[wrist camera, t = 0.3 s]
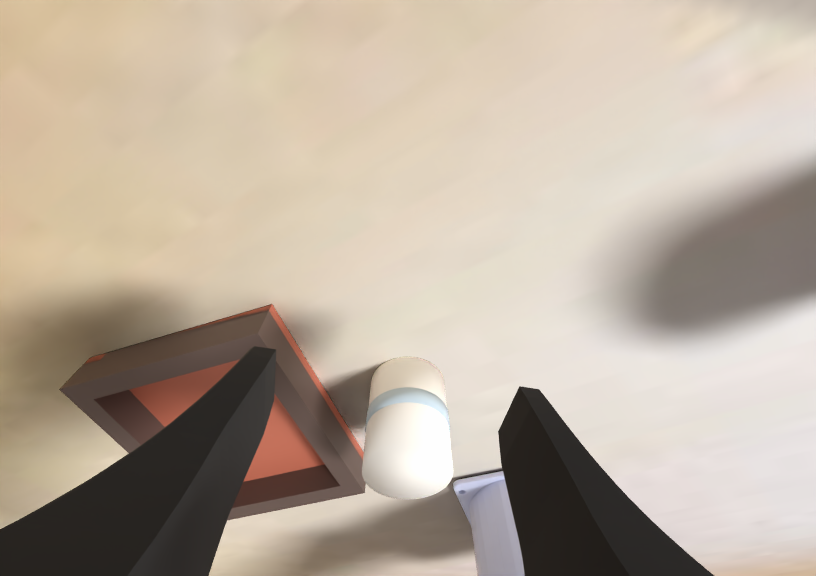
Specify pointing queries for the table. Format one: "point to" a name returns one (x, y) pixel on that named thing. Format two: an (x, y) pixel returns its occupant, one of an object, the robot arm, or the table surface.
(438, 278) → the table surface
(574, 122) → the table surface
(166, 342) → the lacquer tray
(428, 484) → the blue-banded white capsule
